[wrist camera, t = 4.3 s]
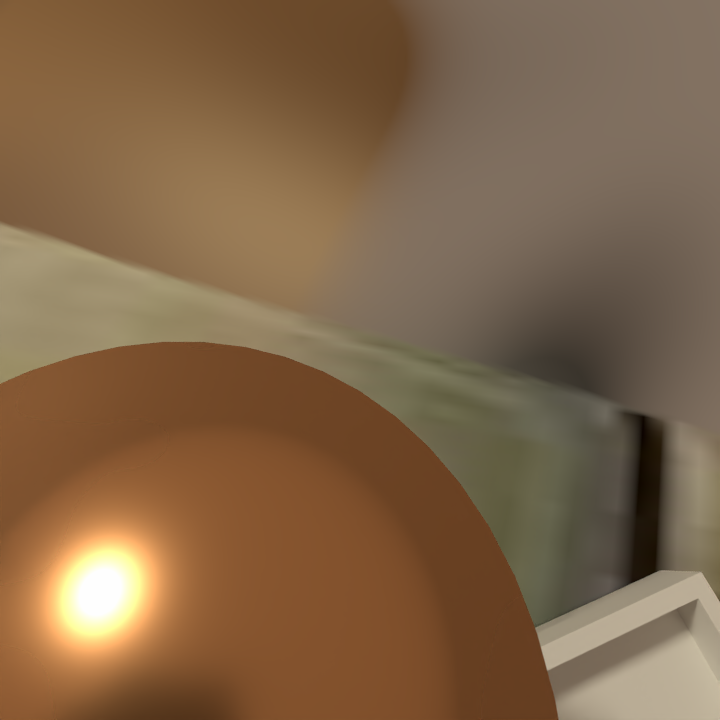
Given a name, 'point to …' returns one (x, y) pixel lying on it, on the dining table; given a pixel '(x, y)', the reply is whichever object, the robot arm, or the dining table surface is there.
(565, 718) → the tray
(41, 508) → the copper-capped peg
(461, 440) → the dining table surface
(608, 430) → the dining table surface
